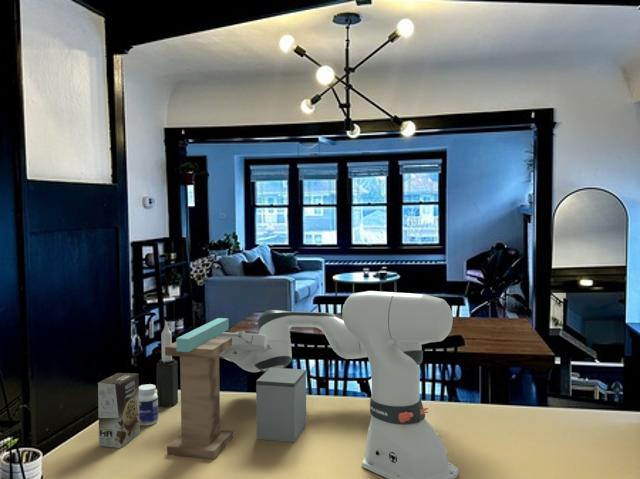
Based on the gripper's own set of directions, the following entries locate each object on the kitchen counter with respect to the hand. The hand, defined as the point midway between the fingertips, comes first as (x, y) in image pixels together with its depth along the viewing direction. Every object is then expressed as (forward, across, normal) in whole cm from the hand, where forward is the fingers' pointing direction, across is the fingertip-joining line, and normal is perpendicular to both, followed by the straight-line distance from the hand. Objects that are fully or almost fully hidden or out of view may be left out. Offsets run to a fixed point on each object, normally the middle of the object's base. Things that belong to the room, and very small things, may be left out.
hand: (224, 333), depth 150 cm
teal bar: (+13, -1, -6) cm, 14 cm away
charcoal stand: (-9, -18, -23) cm, 30 cm away
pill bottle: (-7, +21, -24) cm, 33 cm away
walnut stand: (+2, -1, -30) cm, 30 cm away
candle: (-20, +22, -17) cm, 34 cm away
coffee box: (+3, +21, -30) cm, 37 cm away
